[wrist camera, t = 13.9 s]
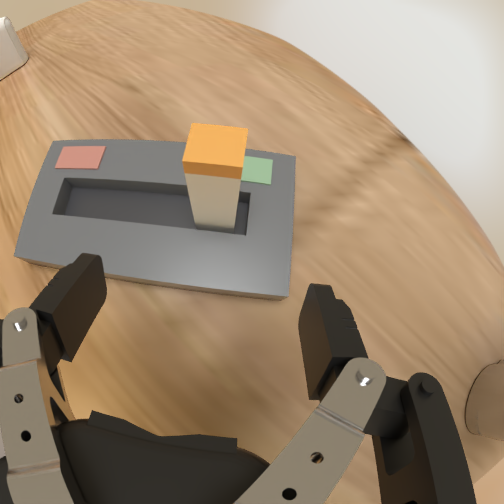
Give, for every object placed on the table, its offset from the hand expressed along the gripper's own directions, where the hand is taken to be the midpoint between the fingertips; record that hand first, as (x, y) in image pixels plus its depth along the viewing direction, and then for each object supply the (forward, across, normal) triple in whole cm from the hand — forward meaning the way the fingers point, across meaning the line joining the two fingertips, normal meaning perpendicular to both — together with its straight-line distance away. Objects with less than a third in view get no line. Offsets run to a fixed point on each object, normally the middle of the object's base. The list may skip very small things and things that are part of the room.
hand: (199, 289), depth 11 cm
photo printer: (+32, +45, -14) cm, 57 cm away
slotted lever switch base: (+14, +7, +4) cm, 16 cm away
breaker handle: (+13, +1, +3) cm, 14 cm away
